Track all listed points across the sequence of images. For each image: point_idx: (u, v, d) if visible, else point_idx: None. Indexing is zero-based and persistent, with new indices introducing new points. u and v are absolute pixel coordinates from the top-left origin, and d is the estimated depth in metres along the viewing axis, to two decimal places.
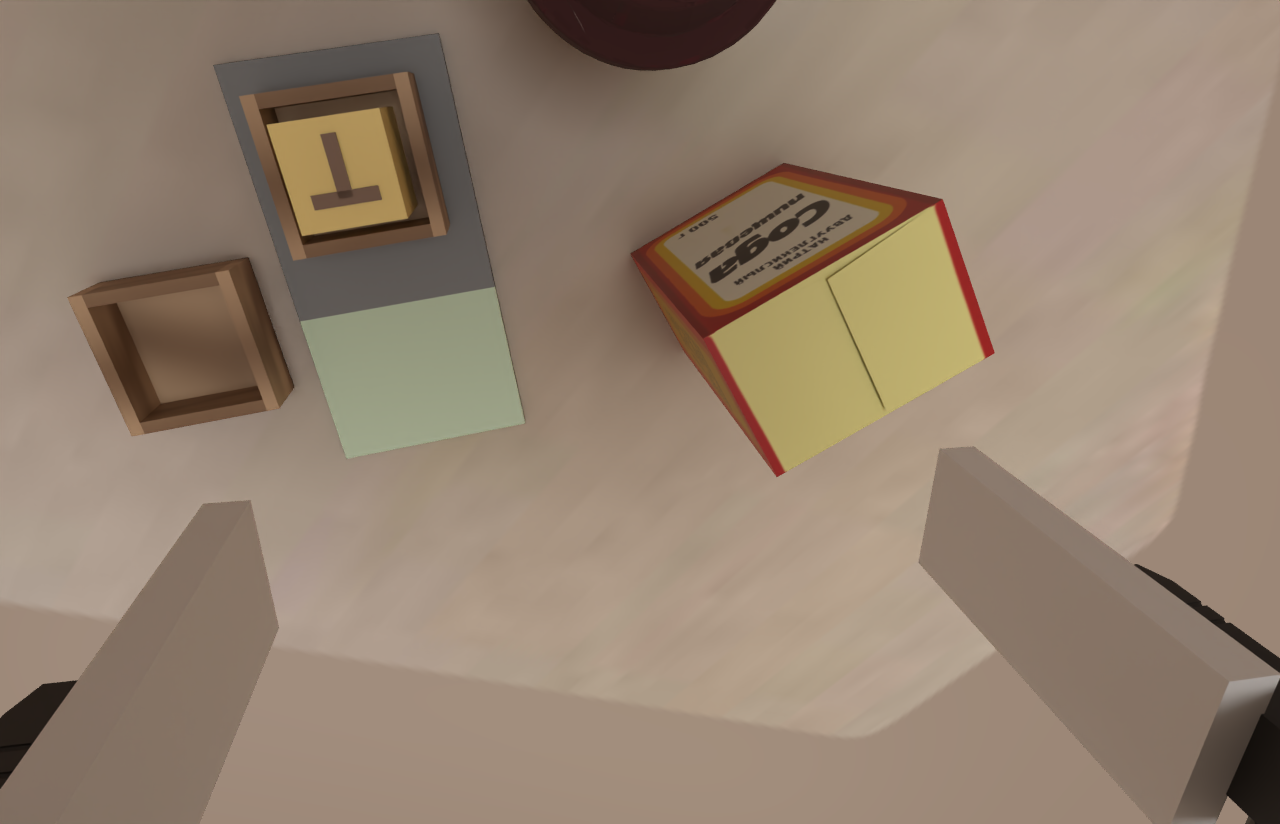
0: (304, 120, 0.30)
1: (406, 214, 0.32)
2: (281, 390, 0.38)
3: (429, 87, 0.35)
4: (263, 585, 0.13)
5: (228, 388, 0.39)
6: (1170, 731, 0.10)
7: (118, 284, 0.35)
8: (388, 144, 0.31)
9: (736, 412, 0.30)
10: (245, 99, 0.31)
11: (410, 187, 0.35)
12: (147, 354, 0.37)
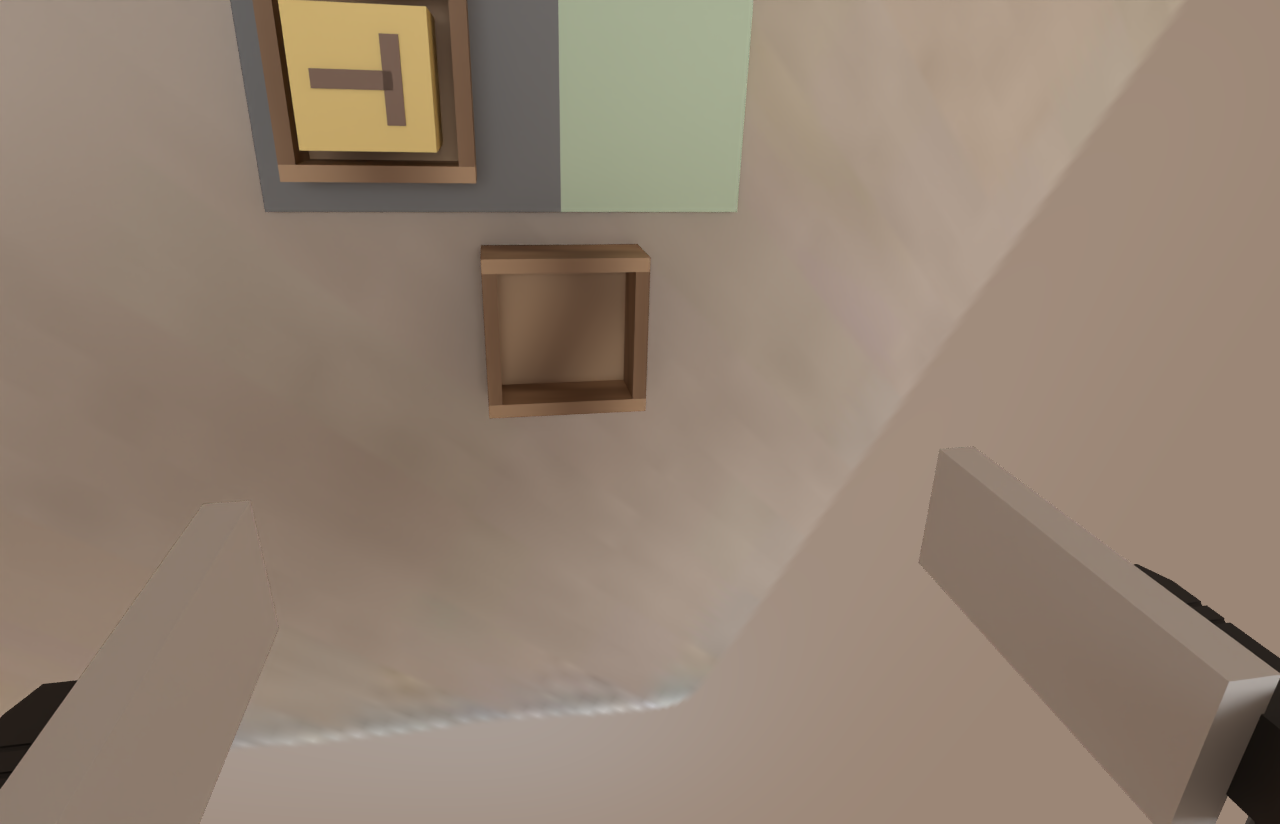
0: (294, 102, 0.25)
1: (420, 7, 0.24)
2: (633, 252, 0.32)
3: None
4: (263, 585, 0.13)
5: (621, 310, 0.35)
6: (1170, 731, 0.10)
7: None
8: (326, 2, 0.24)
9: None
10: (284, 175, 0.27)
11: None
12: (568, 374, 0.35)
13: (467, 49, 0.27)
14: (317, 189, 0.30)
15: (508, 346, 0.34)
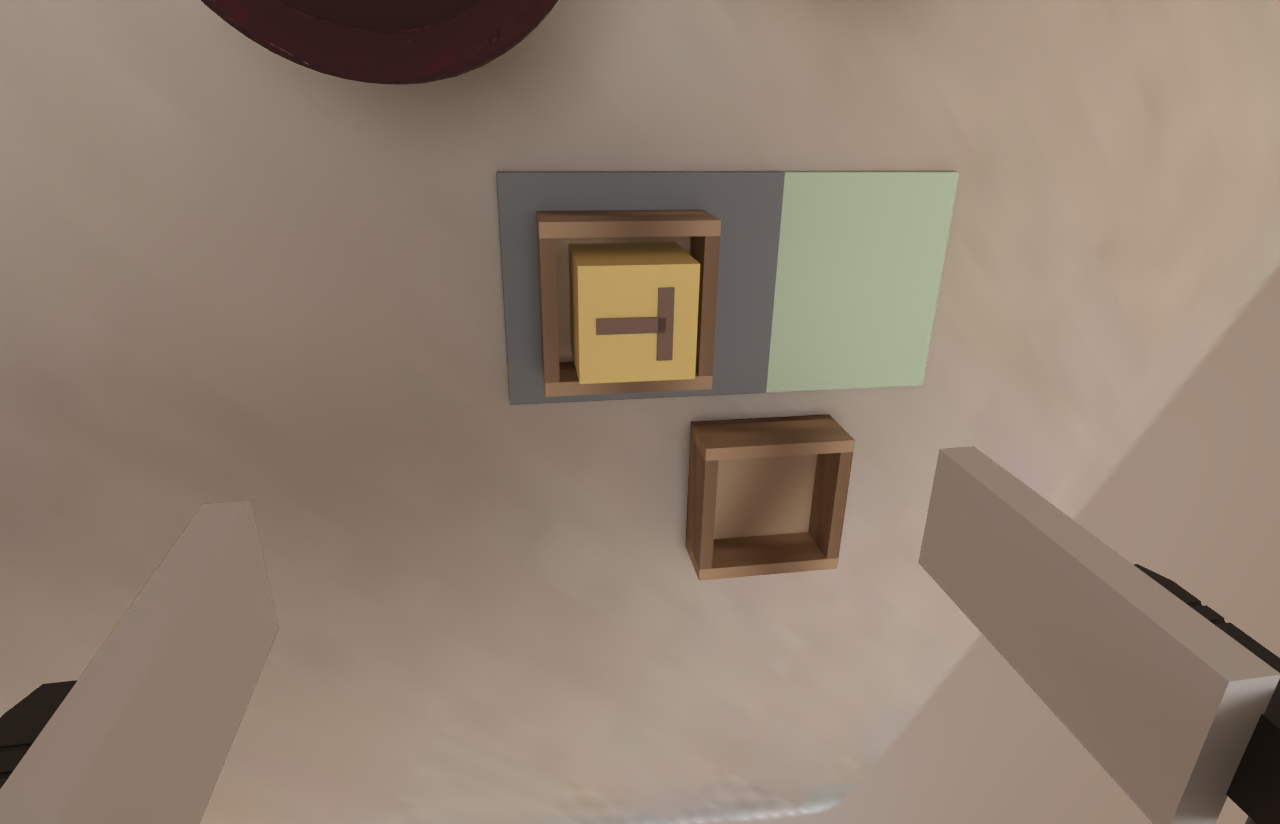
0: (580, 346, 0.28)
1: (695, 264, 0.27)
2: (833, 430, 0.35)
3: (552, 197, 0.30)
4: (263, 585, 0.13)
5: (812, 473, 0.37)
6: (1170, 731, 0.10)
7: (694, 536, 0.36)
8: (616, 265, 0.27)
9: None
10: (549, 391, 0.30)
11: (657, 246, 0.30)
12: (760, 529, 0.38)
13: (717, 281, 0.30)
14: None
15: None
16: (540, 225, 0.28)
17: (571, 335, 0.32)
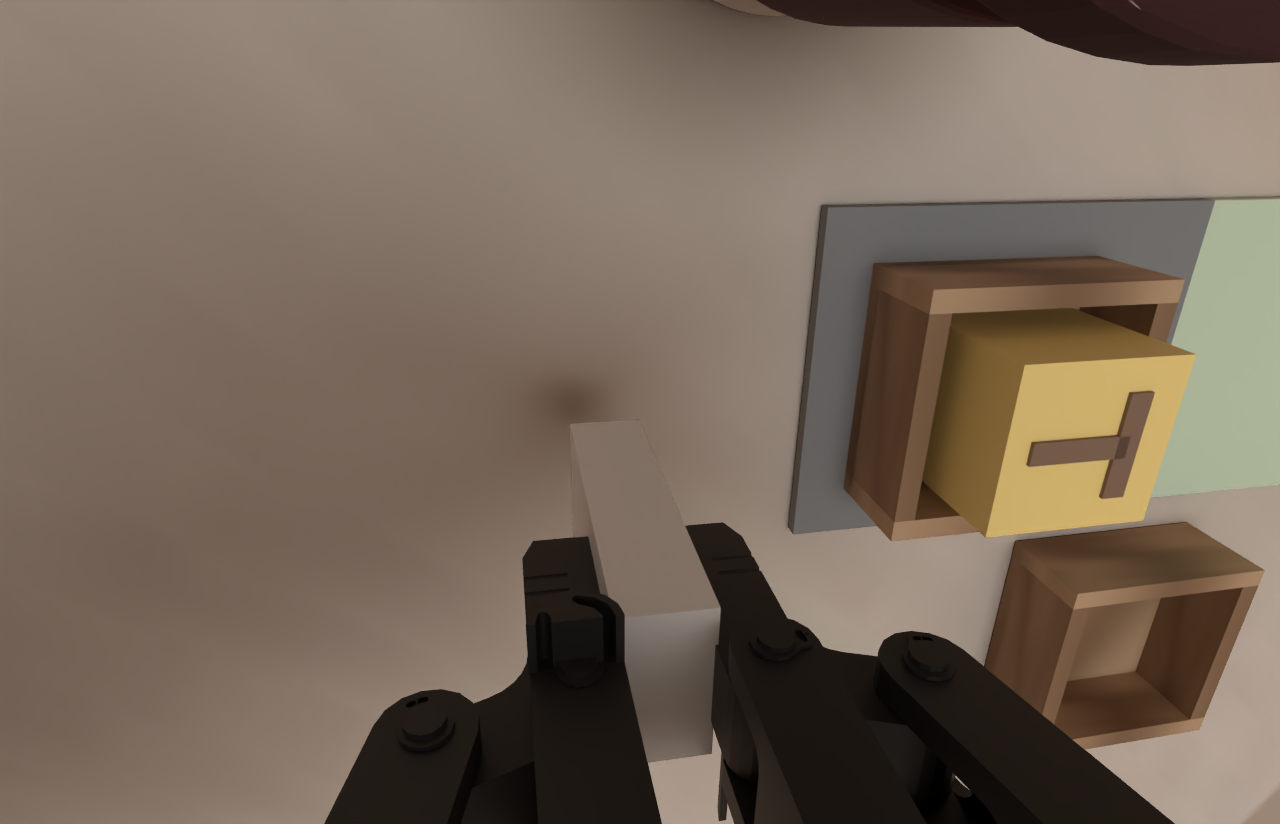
0: (1000, 484, 0.18)
1: (1187, 354, 0.17)
2: (1220, 553, 0.25)
3: (898, 242, 0.20)
4: None
5: (1157, 600, 0.28)
6: None
7: None
8: (1078, 360, 0.17)
9: None
10: (897, 533, 0.20)
11: (1057, 315, 0.20)
12: (1078, 672, 0.29)
13: None
14: None
15: None
16: (935, 294, 0.18)
17: None
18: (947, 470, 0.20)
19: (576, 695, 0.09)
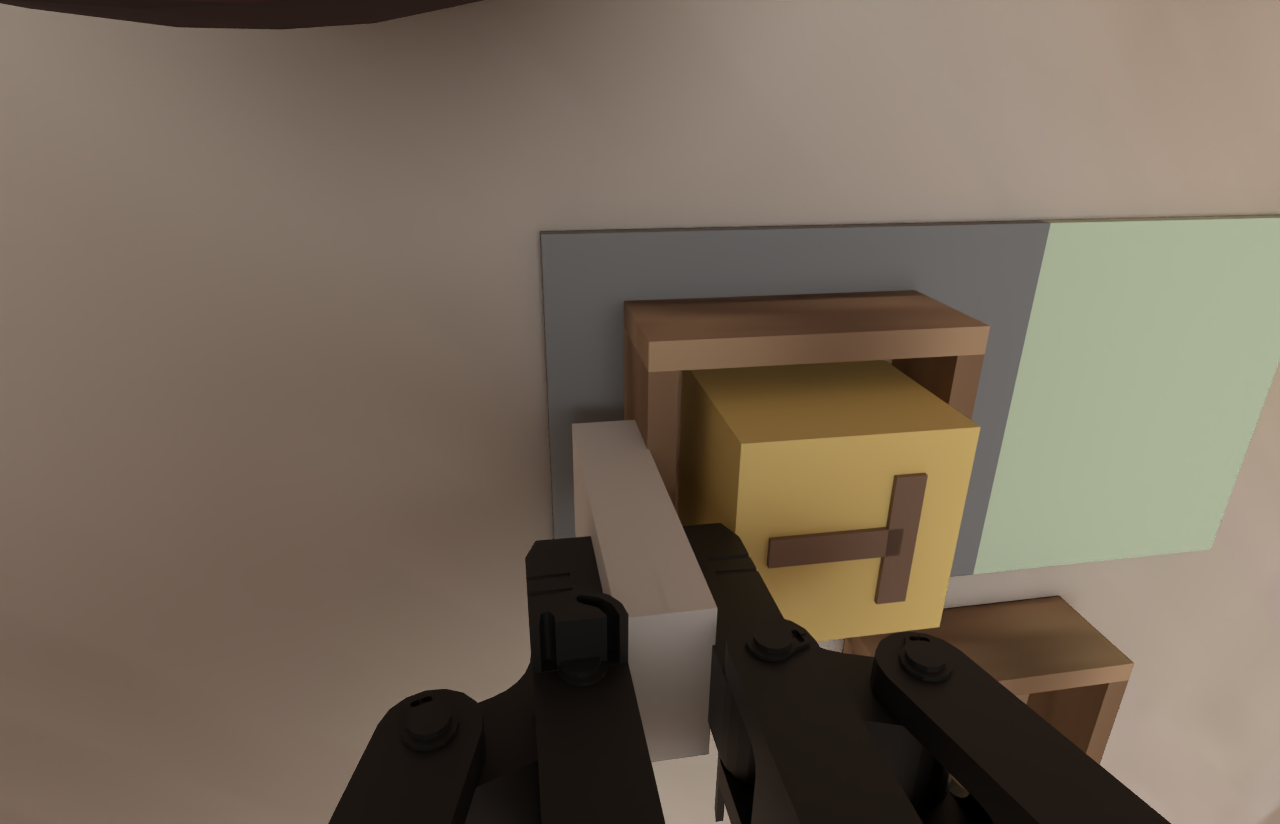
0: None
1: (970, 427, 0.14)
2: (1087, 638, 0.21)
3: (641, 276, 0.16)
4: None
5: None
6: None
7: None
8: (818, 436, 0.13)
9: None
10: None
11: (849, 366, 0.17)
12: None
13: None
14: None
15: None
16: (651, 347, 0.14)
17: (683, 516, 0.18)
18: None
19: (579, 695, 0.09)
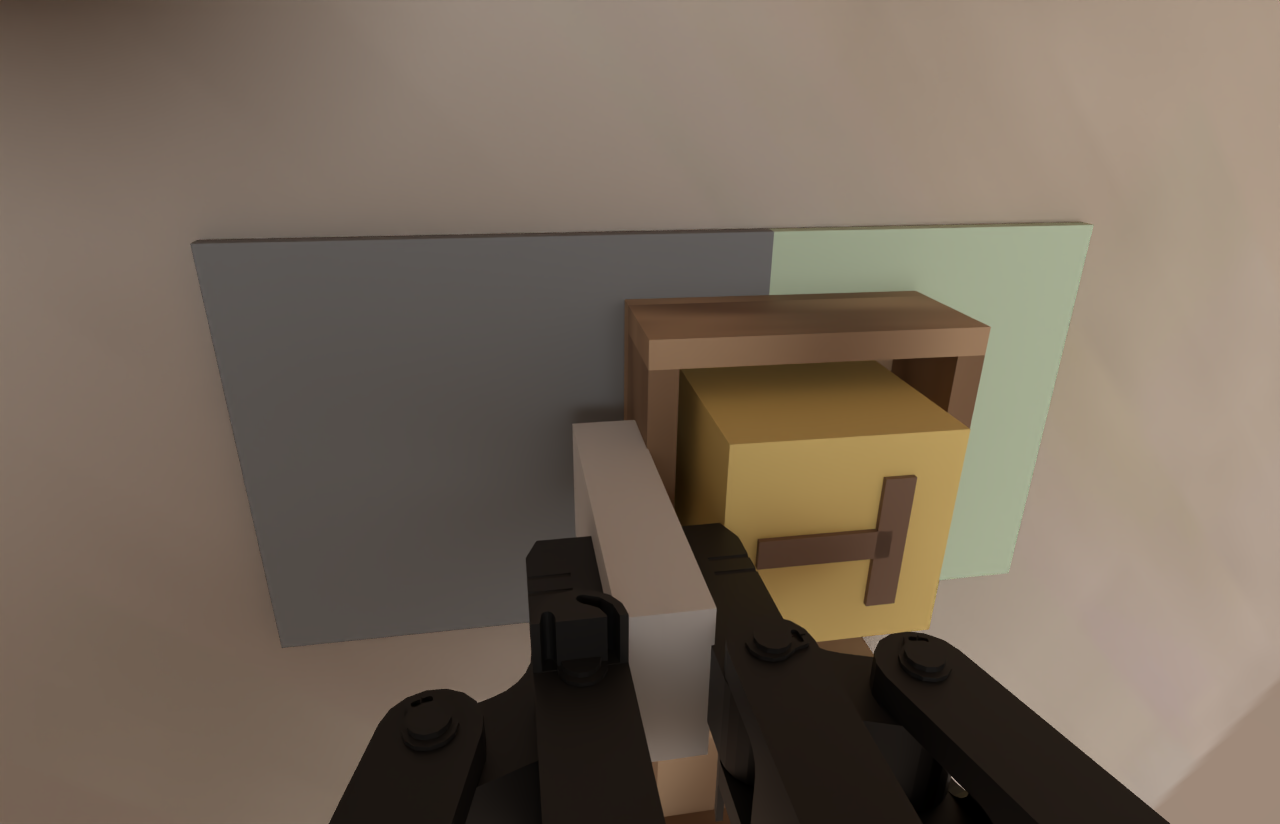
0: None
1: (959, 429, 0.14)
2: None
3: (314, 288, 0.15)
4: None
5: None
6: None
7: None
8: (807, 437, 0.13)
9: None
10: None
11: (841, 366, 0.16)
12: None
13: None
14: (365, 610, 0.19)
15: None
16: (651, 346, 0.14)
17: None
18: None
19: (580, 695, 0.09)
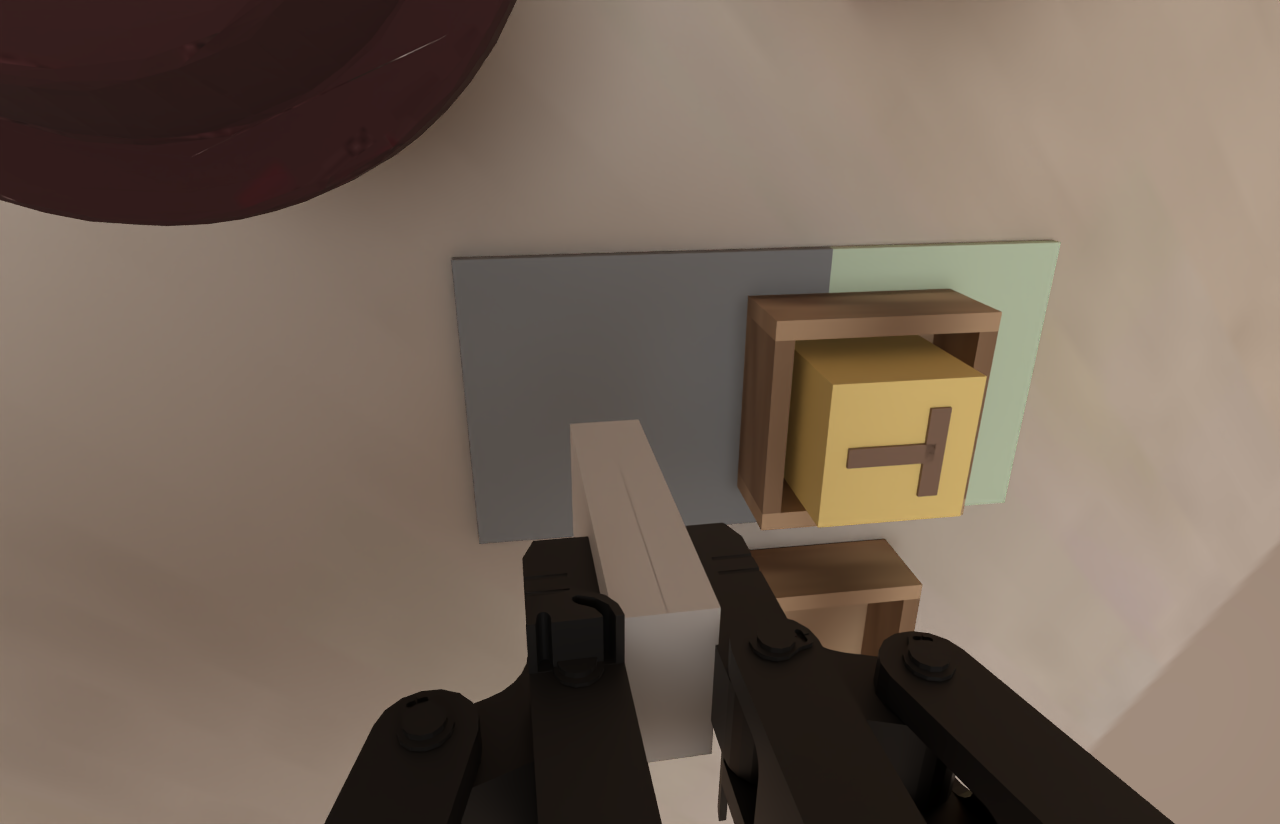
0: (824, 482, 0.21)
1: (979, 376, 0.21)
2: (893, 568, 0.28)
3: (526, 289, 0.23)
4: None
5: (863, 611, 0.30)
6: None
7: None
8: (881, 381, 0.21)
9: None
10: (766, 524, 0.24)
11: (898, 341, 0.24)
12: None
13: (987, 386, 0.23)
14: (538, 517, 0.26)
15: None
16: (778, 325, 0.21)
17: None
18: (798, 471, 0.23)
19: (575, 695, 0.09)
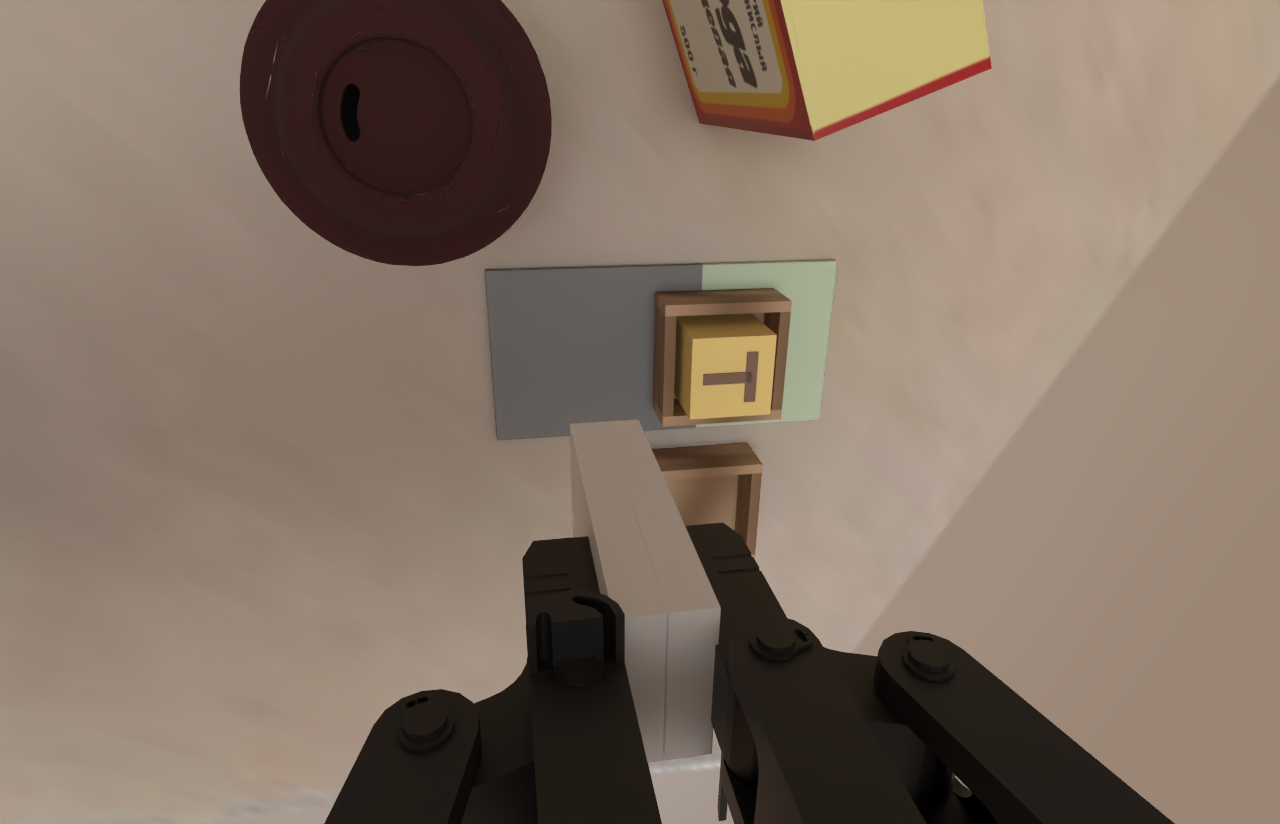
0: (691, 393, 0.39)
1: (773, 335, 0.39)
2: (747, 456, 0.46)
3: (526, 287, 0.41)
4: None
5: (735, 488, 0.48)
6: None
7: None
8: (719, 337, 0.38)
9: None
10: (665, 423, 0.42)
11: (739, 317, 0.42)
12: None
13: (787, 343, 0.41)
14: (533, 424, 0.44)
15: None
16: (666, 307, 0.39)
17: (674, 381, 0.43)
18: (682, 391, 0.41)
19: (576, 695, 0.09)
